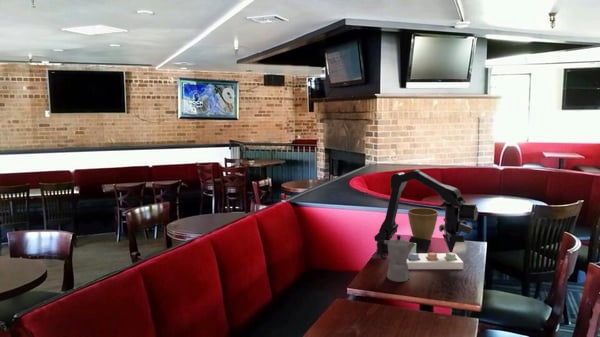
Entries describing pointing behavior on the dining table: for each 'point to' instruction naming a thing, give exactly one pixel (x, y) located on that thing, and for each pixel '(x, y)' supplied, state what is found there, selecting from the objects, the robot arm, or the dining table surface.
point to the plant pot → (422, 222)
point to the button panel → (433, 261)
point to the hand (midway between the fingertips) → (450, 252)
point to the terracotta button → (432, 256)
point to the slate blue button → (413, 256)
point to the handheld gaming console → (420, 244)
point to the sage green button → (450, 256)
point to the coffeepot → (397, 258)
